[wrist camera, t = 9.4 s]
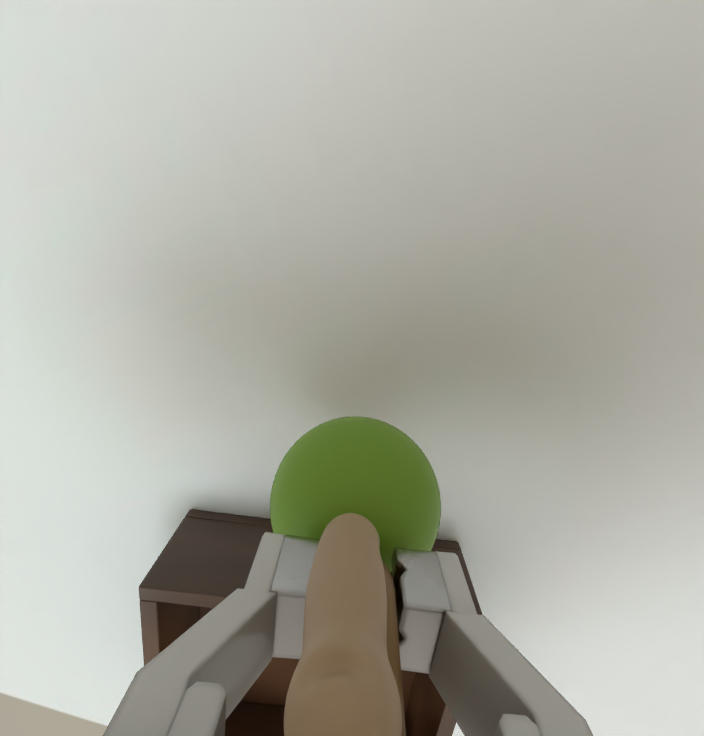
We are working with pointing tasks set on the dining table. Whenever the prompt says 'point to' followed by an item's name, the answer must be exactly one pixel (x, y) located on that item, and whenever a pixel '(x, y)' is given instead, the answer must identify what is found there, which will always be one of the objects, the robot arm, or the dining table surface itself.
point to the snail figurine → (352, 569)
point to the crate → (230, 571)
